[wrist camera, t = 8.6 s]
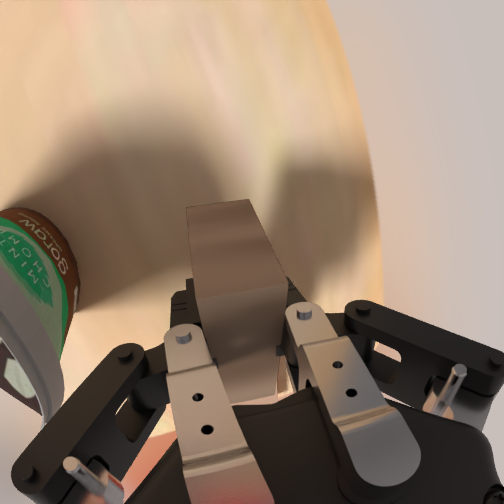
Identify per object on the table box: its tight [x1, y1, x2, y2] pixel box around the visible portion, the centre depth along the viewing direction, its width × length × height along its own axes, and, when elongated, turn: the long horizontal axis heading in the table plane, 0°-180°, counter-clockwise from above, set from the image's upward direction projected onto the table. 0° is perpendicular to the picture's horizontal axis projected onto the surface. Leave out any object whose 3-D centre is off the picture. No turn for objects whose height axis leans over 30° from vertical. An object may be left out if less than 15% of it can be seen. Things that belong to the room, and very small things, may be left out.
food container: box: [0, 208, 80, 430], centre depth 11 cm, size 12×6×10 cm, turn 48°
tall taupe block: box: [186, 199, 288, 404], centre depth 14 cm, size 14×5×5 cm, turn 5°
